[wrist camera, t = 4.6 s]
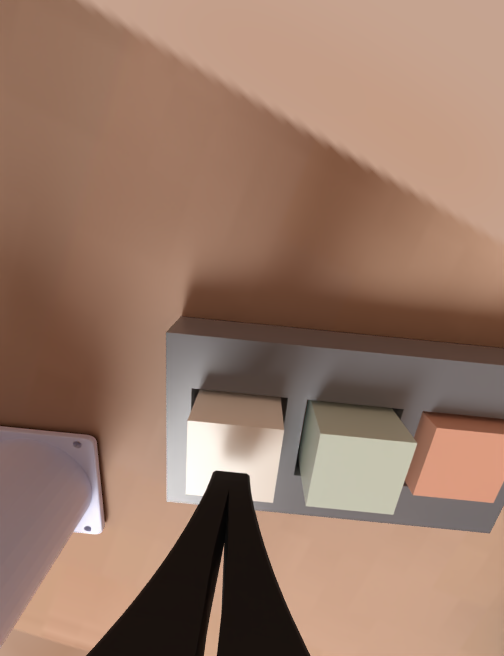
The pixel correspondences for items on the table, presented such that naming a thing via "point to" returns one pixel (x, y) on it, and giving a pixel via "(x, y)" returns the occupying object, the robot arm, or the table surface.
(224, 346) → the keypad
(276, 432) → the cream key
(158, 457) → the table surface
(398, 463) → the sage key
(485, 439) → the terracotta key
